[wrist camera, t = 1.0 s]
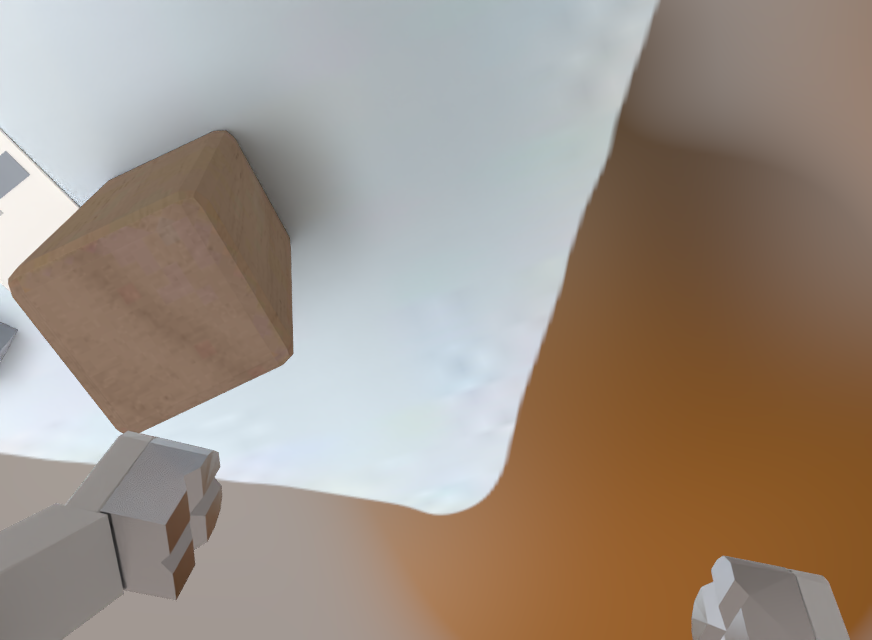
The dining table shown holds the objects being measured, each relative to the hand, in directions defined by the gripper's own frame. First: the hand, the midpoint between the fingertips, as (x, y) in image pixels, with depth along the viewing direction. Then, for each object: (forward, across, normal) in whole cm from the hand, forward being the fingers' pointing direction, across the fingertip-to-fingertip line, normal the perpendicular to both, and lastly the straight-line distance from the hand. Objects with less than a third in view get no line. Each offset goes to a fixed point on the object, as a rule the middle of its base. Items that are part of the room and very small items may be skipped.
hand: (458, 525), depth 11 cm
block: (+36, +22, +16) cm, 45 cm away
